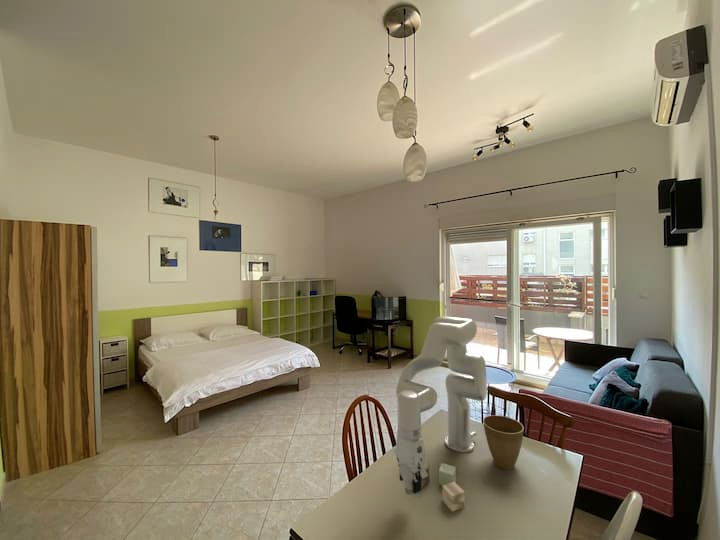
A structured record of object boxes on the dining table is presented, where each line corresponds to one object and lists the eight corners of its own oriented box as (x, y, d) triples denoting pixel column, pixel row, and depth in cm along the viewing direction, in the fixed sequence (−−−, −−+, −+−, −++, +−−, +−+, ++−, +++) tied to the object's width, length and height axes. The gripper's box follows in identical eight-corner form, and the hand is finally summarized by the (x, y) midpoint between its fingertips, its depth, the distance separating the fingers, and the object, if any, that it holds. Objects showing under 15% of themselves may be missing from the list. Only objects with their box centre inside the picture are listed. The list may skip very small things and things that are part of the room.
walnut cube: (417, 474, 111) (417, 460, 111) (429, 480, 107) (429, 466, 107) (410, 480, 107) (410, 467, 107) (422, 487, 104) (421, 473, 104)
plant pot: (514, 453, 124) (514, 415, 124) (531, 477, 109) (531, 434, 109) (478, 451, 125) (478, 413, 125) (490, 474, 110) (490, 432, 111)
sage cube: (442, 476, 109) (442, 462, 110) (455, 480, 107) (455, 467, 107) (438, 484, 105) (438, 470, 105) (453, 489, 103) (452, 475, 103)
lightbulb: (405, 483, 99) (405, 452, 99) (421, 492, 95) (421, 460, 95) (396, 494, 94) (396, 462, 94) (412, 504, 90) (412, 470, 90)
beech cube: (454, 496, 99) (454, 481, 99) (464, 507, 95) (464, 491, 95) (442, 500, 98) (442, 485, 98) (452, 511, 93) (452, 496, 93)
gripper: (436, 439, 89) (437, 497, 89) (401, 416, 104) (402, 466, 104) (418, 447, 86) (419, 508, 85) (384, 422, 100) (385, 473, 100)
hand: (410, 484), depth 95 cm, fingers closed on lightbulb, 5 cm apart
